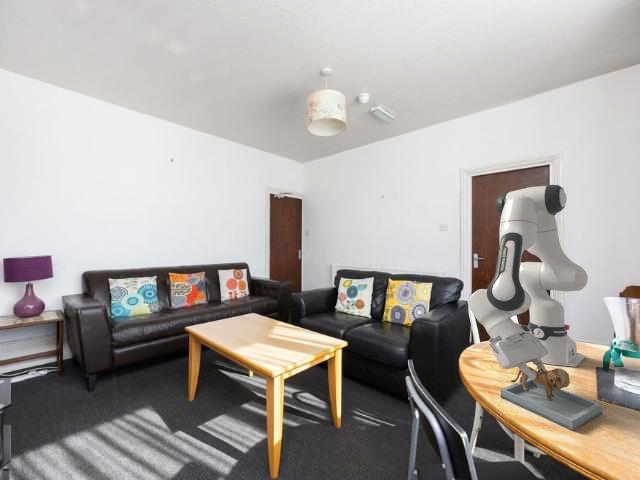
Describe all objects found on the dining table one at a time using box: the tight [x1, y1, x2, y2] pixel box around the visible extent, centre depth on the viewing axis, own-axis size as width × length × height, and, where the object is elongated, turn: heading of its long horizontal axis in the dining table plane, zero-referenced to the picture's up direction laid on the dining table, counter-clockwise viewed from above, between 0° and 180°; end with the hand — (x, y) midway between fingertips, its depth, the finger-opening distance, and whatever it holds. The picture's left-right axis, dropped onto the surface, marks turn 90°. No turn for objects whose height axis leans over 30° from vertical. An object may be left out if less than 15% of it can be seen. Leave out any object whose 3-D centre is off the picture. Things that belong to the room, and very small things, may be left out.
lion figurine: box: [510, 365, 571, 401], centre depth 86 cm, size 15×5×9 cm, turn 36°
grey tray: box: [500, 378, 603, 432], centre depth 84 cm, size 16×18×2 cm
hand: (540, 376), depth 86 cm, fingers closed on lion figurine, 4 cm apart
